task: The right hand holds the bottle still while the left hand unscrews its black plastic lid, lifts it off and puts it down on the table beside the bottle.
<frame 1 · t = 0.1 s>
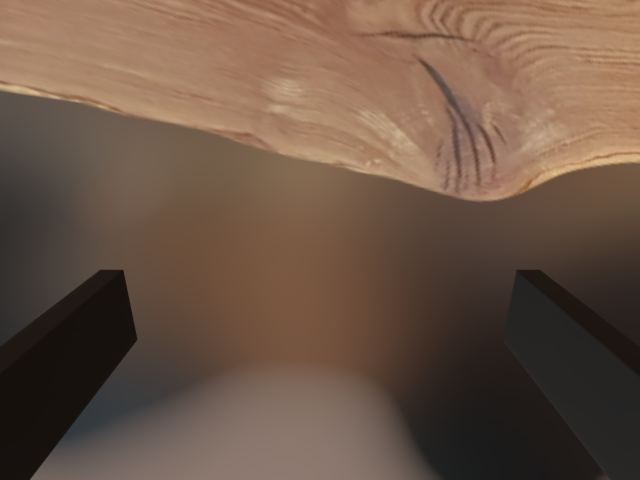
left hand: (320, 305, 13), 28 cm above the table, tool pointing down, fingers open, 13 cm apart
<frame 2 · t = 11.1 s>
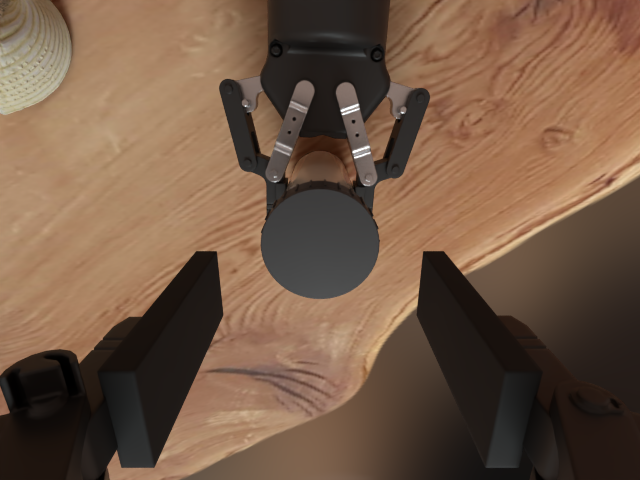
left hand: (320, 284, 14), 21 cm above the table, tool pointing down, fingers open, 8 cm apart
right hand: (319, 229, 28), fingers closed on bottle, 5 cm apart
lid: (320, 244, 18), point 16 cm above the table, screwed on, not yet turned
seashell: (21, 44, 30), on the table
bottle: (320, 178, 34), on the table, touching right hand
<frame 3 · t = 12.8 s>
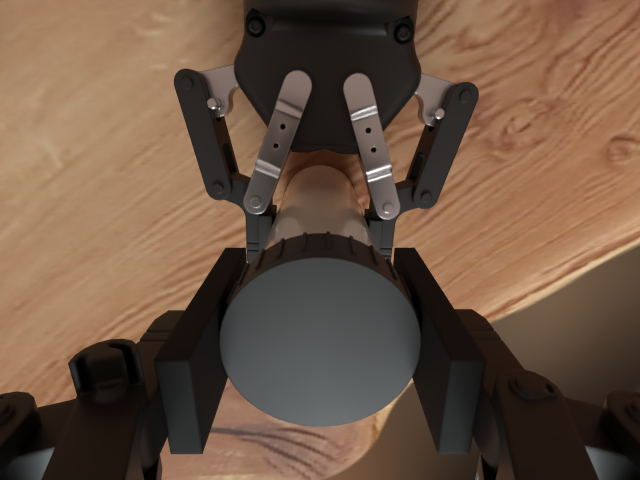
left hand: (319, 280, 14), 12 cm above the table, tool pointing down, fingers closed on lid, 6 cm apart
right hand: (318, 274, 21), fingers closed on bottle, 5 cm apart
lid: (320, 342, 11), point 16 cm above the table, screwed on, not yet turned, touching left hand
bottle: (320, 200, 26), on the table, touching right hand
when the left hand's fingers open (0 cm above the table, at t = 22.1 s): lid drops 3 cm, point 2 cm above the table.
when the right hand's fingers open (6 cm above the table, at t = 22.8 s): bottle stays where it is, on the table.
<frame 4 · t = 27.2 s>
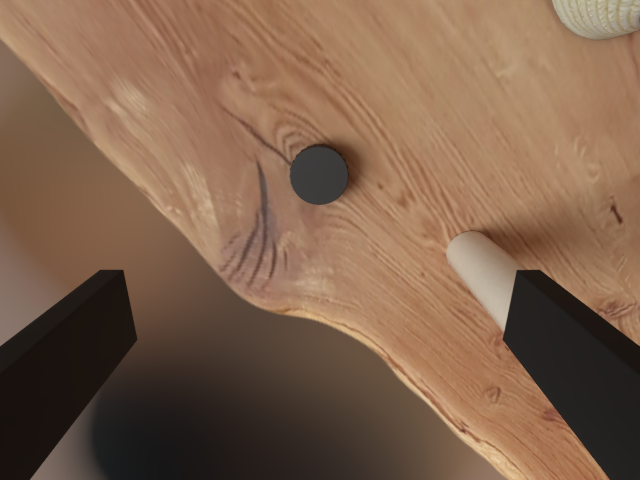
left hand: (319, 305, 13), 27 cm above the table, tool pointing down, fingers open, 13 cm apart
lid: (319, 175, 37), point 2 cm above the table, off its thread
bottle: (468, 251, 41), on the table
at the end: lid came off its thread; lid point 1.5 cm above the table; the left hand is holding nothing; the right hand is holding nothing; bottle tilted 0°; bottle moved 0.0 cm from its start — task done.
